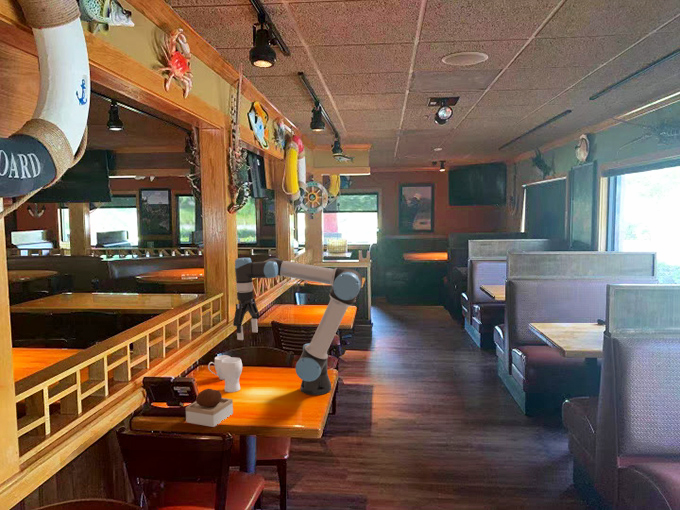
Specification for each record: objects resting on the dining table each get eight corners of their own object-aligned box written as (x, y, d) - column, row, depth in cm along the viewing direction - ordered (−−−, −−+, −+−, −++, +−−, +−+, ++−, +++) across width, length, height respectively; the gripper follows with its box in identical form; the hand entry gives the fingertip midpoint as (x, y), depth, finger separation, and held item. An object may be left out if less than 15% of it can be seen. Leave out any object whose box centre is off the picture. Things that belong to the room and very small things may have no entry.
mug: (228, 374, 271) (227, 354, 270) (233, 379, 264) (232, 358, 263) (206, 379, 265) (205, 358, 264) (211, 383, 258) (210, 362, 257)
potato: (224, 406, 214) (223, 390, 213) (199, 412, 209) (198, 394, 208) (219, 400, 221) (218, 383, 220) (194, 405, 216) (193, 388, 215)
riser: (233, 413, 219) (232, 399, 219) (213, 427, 207) (213, 411, 206) (206, 409, 225) (205, 395, 224) (186, 422, 212) (185, 407, 211)
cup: (238, 394, 243) (236, 364, 241) (217, 392, 245) (216, 363, 243) (246, 386, 253) (245, 357, 251) (226, 385, 255) (225, 356, 254)
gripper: (251, 286, 245) (253, 329, 247) (223, 295, 221) (226, 342, 223) (264, 286, 242) (267, 329, 244) (238, 296, 219) (241, 343, 221)
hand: (247, 335), depth 234 cm, fingers open, 13 cm apart
